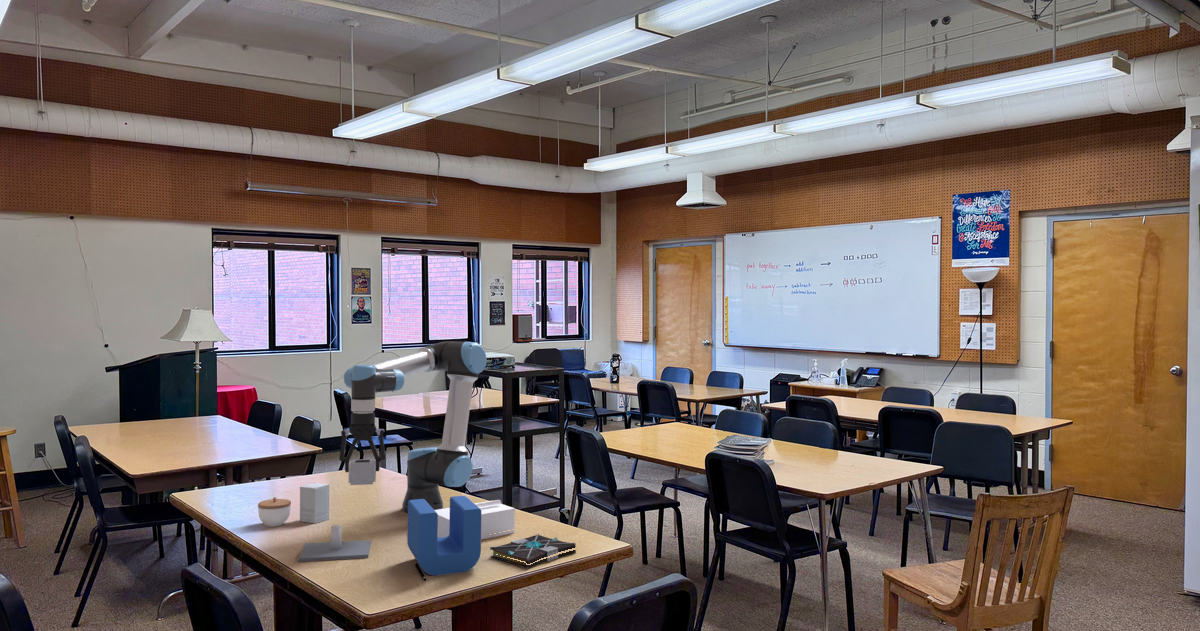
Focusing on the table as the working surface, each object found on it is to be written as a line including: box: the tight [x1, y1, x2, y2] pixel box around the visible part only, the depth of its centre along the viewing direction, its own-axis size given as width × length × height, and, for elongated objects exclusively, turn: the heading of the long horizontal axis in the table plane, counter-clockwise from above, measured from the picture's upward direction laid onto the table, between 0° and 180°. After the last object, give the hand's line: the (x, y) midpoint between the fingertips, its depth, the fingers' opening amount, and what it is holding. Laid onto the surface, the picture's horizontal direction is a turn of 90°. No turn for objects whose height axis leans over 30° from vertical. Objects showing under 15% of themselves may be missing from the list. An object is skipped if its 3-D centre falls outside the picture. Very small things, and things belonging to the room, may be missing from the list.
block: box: [406, 495, 482, 576], centre depth 234 cm, size 18×18×18 cm
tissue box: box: [435, 499, 516, 540], centre depth 267 cm, size 14×25×11 cm, turn 130°
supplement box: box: [299, 482, 330, 524], centre depth 283 cm, size 7×7×13 cm
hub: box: [349, 458, 375, 486], centre depth 259 cm, size 7×7×7 cm
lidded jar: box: [257, 497, 292, 528], centre depth 277 cm, size 11×11×9 cm
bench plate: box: [297, 524, 372, 563], centre depth 245 cm, size 20×16×8 cm
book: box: [489, 533, 577, 570], centre depth 245 cm, size 22×17×5 cm
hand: (362, 481), depth 259 cm, fingers closed on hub, 7 cm apart
